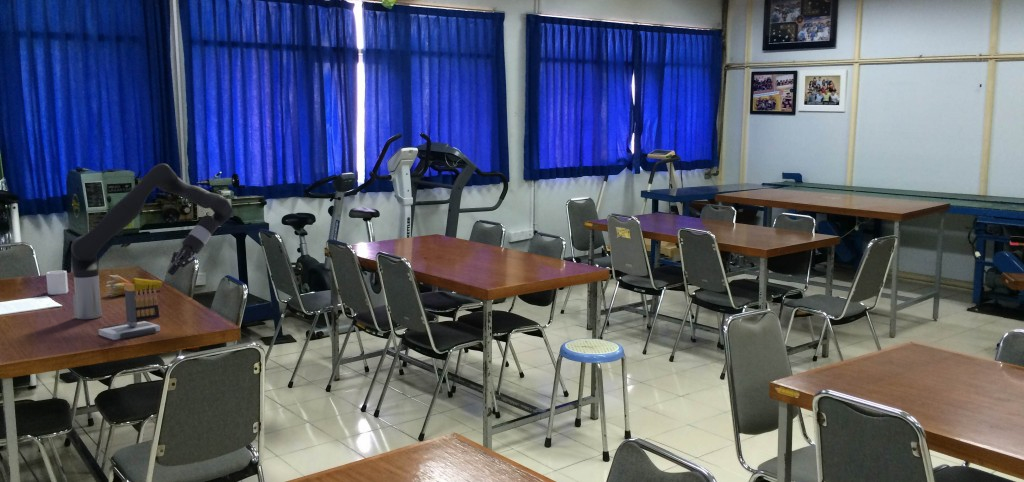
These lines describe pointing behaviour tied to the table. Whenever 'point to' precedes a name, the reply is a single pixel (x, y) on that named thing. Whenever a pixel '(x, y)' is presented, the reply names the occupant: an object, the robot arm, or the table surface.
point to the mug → (57, 282)
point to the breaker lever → (130, 304)
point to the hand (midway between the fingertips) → (169, 273)
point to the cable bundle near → (138, 333)
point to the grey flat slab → (125, 329)
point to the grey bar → (114, 325)
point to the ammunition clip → (146, 305)
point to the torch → (138, 283)
